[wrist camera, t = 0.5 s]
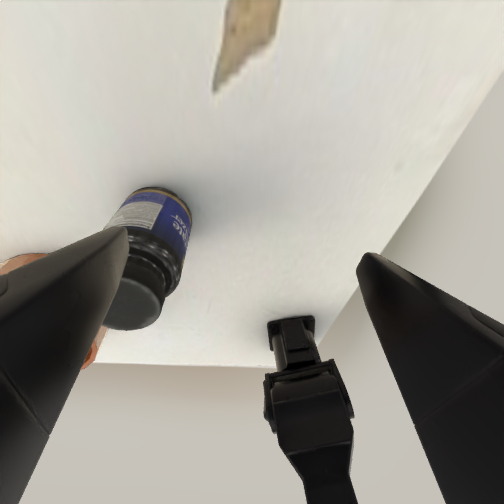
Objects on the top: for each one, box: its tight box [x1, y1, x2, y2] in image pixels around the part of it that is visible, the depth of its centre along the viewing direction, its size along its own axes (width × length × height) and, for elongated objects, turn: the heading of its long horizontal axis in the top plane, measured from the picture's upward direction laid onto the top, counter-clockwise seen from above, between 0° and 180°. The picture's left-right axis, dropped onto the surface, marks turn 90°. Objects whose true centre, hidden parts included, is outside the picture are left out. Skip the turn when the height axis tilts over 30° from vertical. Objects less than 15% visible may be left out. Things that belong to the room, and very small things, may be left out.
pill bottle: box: [101, 187, 192, 331], centre depth 19 cm, size 6×6×11 cm
